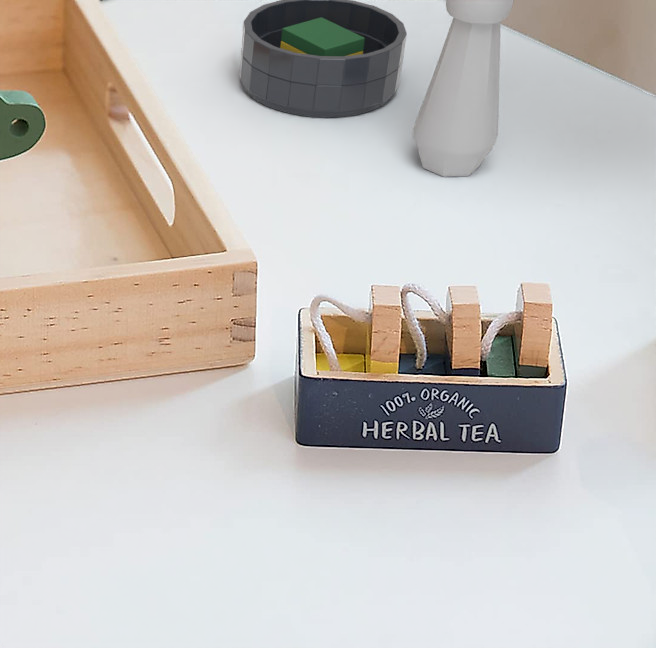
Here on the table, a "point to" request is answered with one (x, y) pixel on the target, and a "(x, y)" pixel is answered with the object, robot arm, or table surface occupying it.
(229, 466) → the table surface
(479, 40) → the salt shaker
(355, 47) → the sponge
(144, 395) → the table surface
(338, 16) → the bowl
